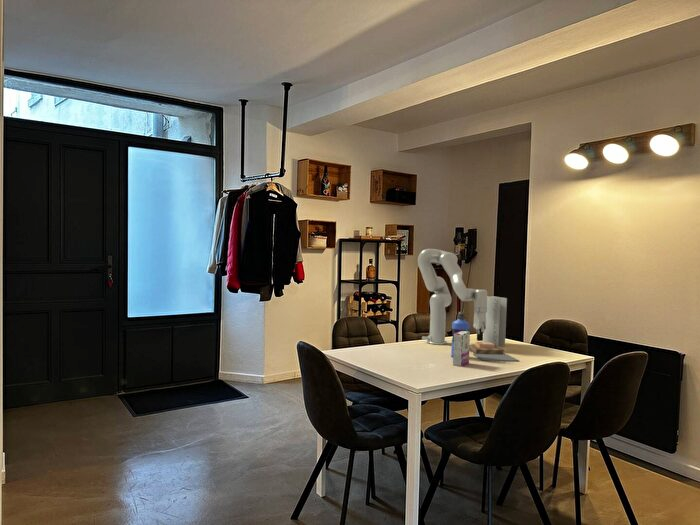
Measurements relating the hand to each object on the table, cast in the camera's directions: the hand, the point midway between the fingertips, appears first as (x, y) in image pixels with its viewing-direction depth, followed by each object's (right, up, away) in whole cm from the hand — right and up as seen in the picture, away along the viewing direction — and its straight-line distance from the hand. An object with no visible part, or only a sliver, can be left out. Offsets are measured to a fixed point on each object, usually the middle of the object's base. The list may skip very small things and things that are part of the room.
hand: (479, 340), depth 317 cm
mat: (+2, -6, -26) cm, 27 cm away
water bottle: (-18, -5, -27) cm, 33 cm away
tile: (0, -2, -10) cm, 10 cm away
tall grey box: (+14, -5, +19) cm, 24 cm away
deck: (+1, -5, -12) cm, 13 cm away
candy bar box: (-21, -6, -46) cm, 51 cm away
